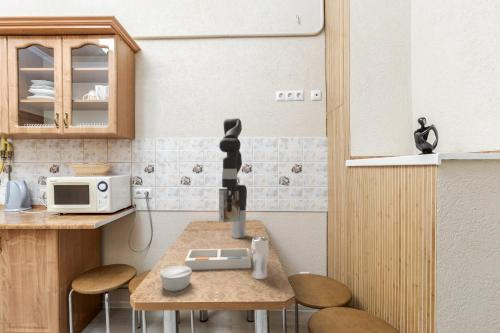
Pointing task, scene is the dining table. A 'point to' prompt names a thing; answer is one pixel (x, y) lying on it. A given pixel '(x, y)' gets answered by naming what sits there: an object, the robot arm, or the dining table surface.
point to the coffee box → (223, 213)
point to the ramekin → (176, 277)
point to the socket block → (218, 259)
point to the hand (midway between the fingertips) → (229, 210)
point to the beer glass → (260, 257)
